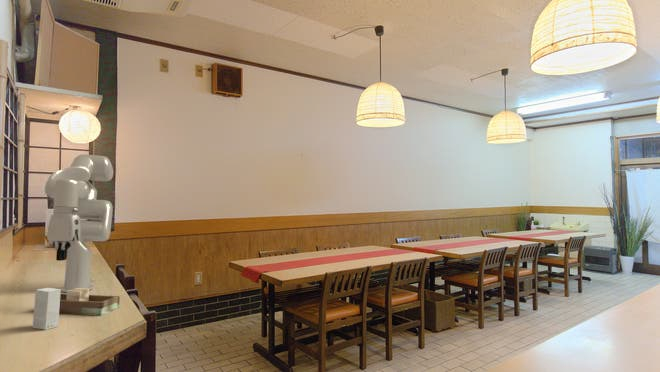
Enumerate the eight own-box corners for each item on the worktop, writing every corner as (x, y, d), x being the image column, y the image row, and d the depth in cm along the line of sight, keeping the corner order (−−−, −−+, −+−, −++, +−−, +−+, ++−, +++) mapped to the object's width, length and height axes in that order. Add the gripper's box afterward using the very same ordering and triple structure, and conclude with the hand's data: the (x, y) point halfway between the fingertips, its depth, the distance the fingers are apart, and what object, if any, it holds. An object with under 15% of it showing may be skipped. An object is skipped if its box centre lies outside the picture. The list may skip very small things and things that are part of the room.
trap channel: (56, 305, 147) (57, 293, 147) (118, 308, 146) (119, 296, 146) (34, 312, 137) (35, 299, 137) (101, 315, 135) (102, 302, 135)
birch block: (75, 301, 144) (76, 288, 144) (88, 302, 144) (89, 288, 144) (65, 304, 139) (67, 290, 139) (79, 305, 139) (80, 291, 139)
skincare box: (58, 326, 122) (61, 289, 123) (44, 330, 118) (48, 291, 119) (45, 324, 124) (48, 287, 125) (31, 327, 120) (34, 289, 121)
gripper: (90, 212, 147) (87, 259, 146) (54, 211, 148) (50, 258, 147) (77, 212, 140) (73, 262, 138) (38, 210, 140) (34, 260, 139)
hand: (61, 260), depth 142 cm, fingers closed
